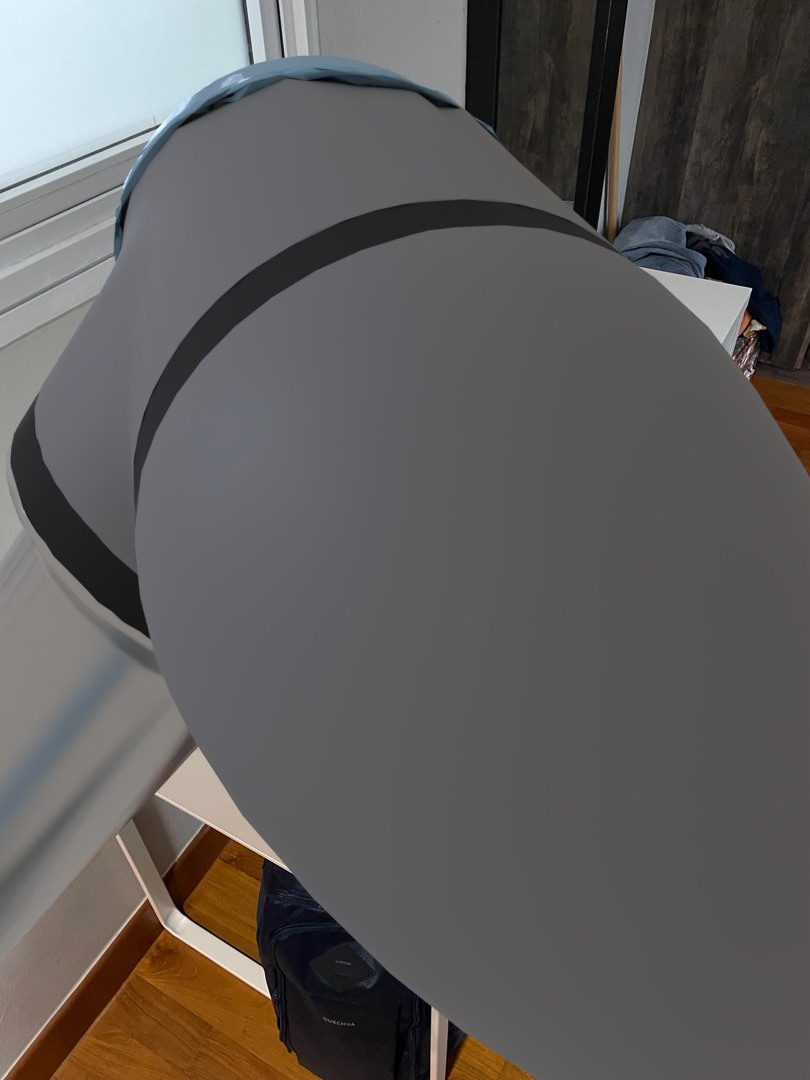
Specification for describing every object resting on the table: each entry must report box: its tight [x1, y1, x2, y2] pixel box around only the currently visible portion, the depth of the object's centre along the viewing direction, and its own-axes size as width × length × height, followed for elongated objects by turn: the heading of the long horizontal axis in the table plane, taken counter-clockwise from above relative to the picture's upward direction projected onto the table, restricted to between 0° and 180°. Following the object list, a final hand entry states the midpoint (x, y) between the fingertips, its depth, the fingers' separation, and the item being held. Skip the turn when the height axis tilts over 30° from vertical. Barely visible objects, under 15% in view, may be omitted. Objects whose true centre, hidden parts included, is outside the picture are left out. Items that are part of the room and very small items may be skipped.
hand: (375, 621), depth 71 cm, fingers closed on battery charger, 7 cm apart
